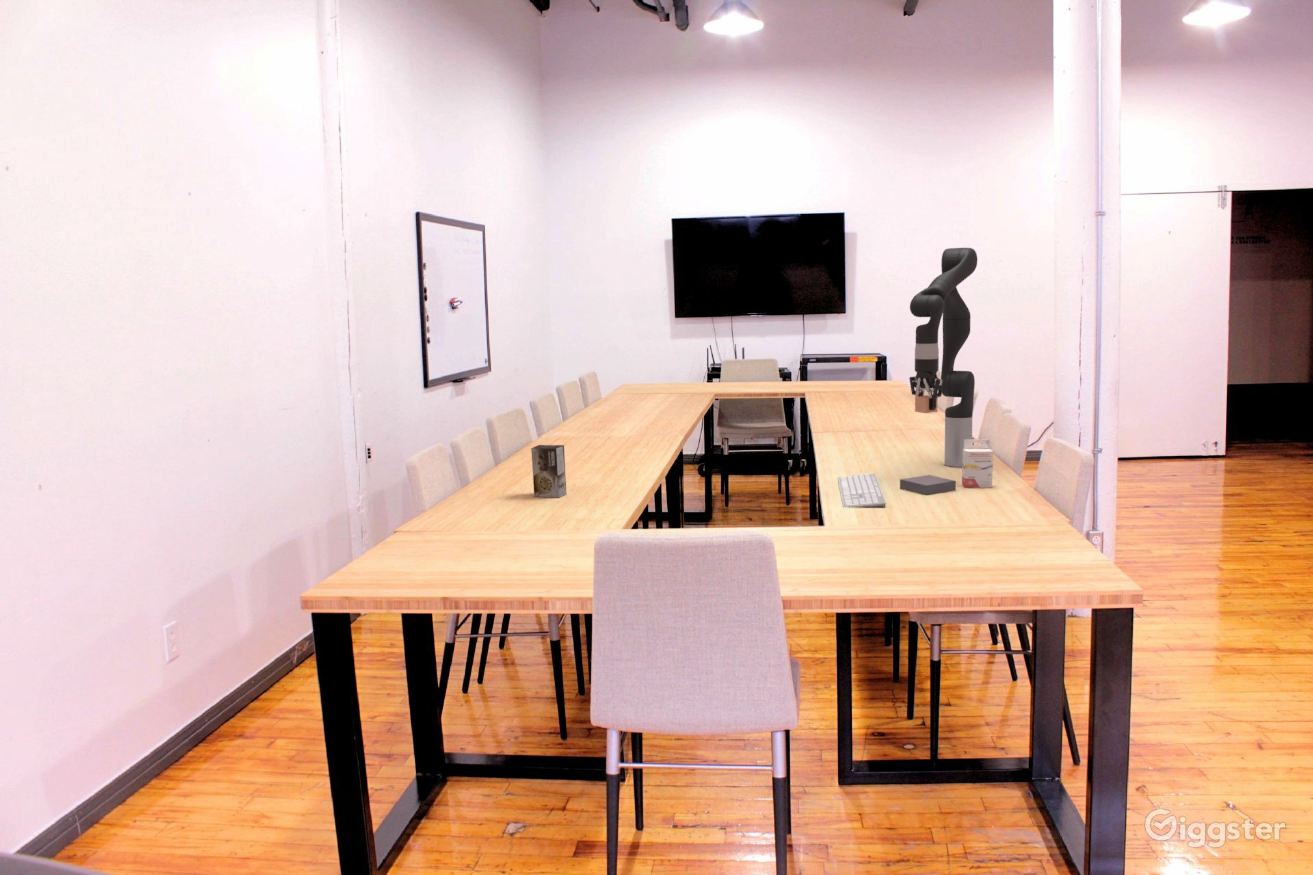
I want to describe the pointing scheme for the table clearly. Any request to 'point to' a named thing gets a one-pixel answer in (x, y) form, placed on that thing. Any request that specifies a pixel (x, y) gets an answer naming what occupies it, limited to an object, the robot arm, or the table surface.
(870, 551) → the table surface
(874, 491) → the keyboard
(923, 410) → the terracotta cube
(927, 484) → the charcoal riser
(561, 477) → the coffee box
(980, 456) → the ink cartridge box
